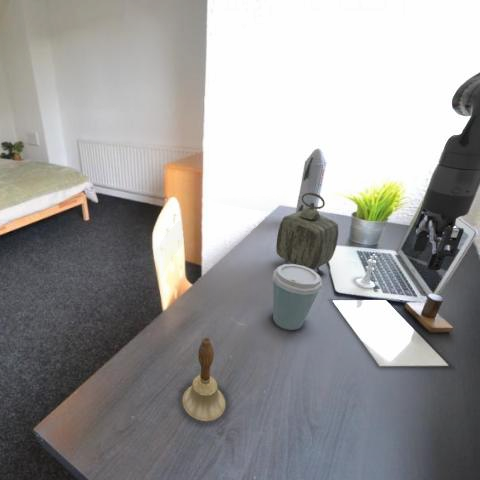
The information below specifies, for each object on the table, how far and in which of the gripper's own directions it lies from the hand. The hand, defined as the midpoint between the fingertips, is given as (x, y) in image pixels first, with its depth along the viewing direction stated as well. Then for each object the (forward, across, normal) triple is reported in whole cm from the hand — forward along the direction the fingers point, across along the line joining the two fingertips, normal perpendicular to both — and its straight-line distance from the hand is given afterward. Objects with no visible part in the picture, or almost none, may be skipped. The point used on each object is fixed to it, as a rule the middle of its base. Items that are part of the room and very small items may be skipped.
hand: (424, 259), depth 73 cm
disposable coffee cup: (+18, -8, +26) cm, 32 cm away
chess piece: (+18, +15, +5) cm, 24 cm away
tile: (+18, -4, +5) cm, 19 cm away
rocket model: (+18, +55, +19) cm, 61 cm away
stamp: (+18, +2, -6) cm, 19 cm away
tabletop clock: (+18, +18, +22) cm, 34 cm away
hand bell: (+18, -35, +42) cm, 58 cm away
